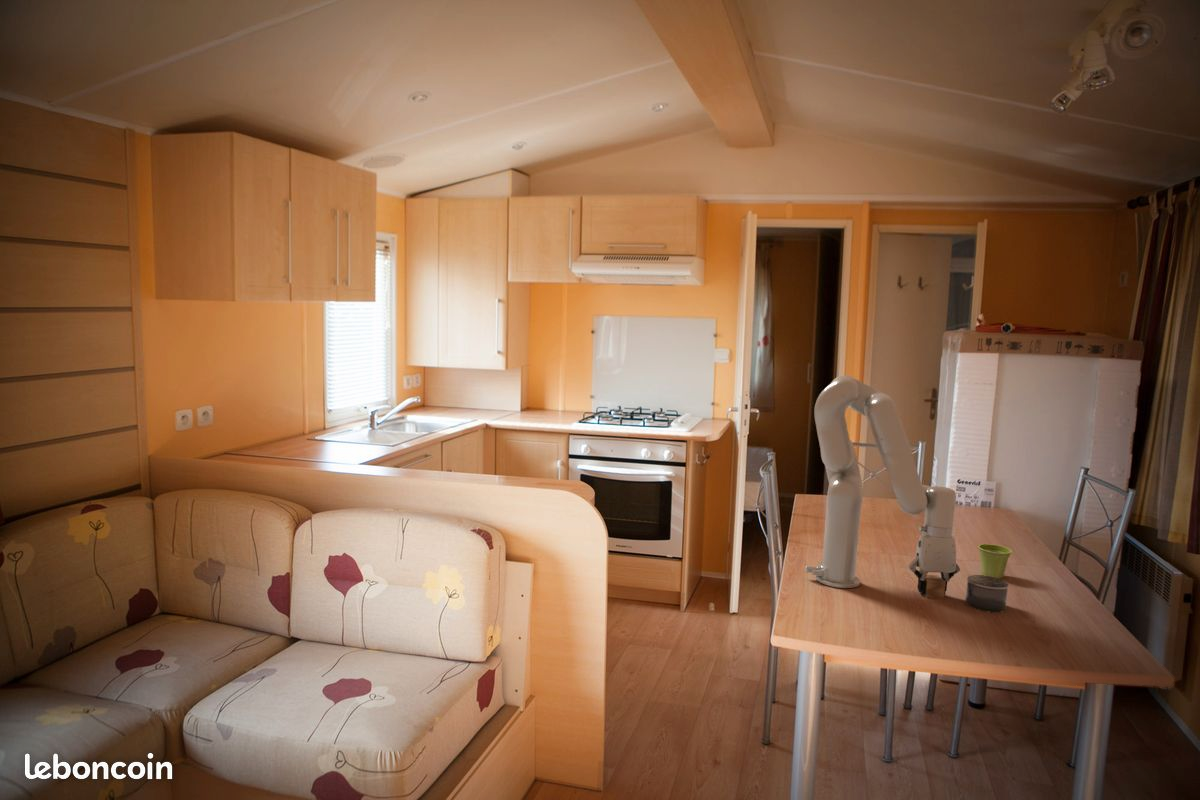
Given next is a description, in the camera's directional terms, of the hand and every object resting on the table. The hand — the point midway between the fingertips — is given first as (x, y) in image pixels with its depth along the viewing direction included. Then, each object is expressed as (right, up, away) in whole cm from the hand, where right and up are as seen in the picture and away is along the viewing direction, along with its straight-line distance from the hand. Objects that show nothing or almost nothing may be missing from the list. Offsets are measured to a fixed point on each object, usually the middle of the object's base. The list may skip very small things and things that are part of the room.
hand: (931, 592), depth 229 cm
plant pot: (+27, 0, +20) cm, 34 cm away
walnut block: (0, -1, 0) cm, 1 cm away
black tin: (+12, -2, -6) cm, 14 cm away
